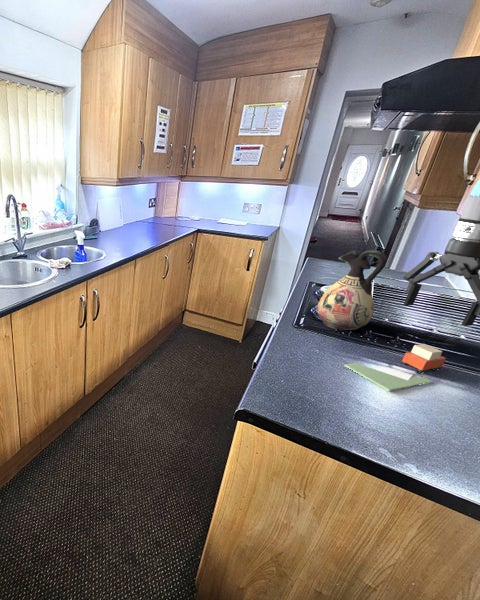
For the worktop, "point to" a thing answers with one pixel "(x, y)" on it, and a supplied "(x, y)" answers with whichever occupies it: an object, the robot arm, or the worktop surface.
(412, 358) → the toy car
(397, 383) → the mat
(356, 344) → the worktop surface
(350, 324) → the ceramic jug
